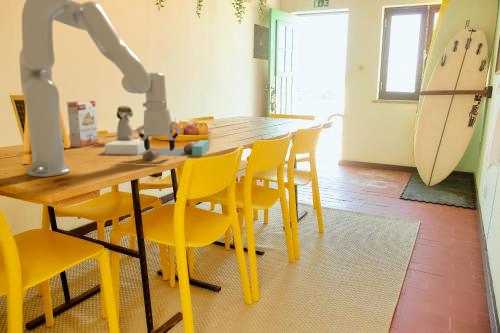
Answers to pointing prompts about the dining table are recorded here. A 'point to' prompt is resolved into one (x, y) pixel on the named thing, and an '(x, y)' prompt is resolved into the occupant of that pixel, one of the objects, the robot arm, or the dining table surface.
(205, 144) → the stop block
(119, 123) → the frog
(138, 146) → the slab
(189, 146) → the roller
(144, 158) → the roller
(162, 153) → the mat
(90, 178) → the dining table surface
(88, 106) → the cracker box
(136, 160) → the dining table surface
